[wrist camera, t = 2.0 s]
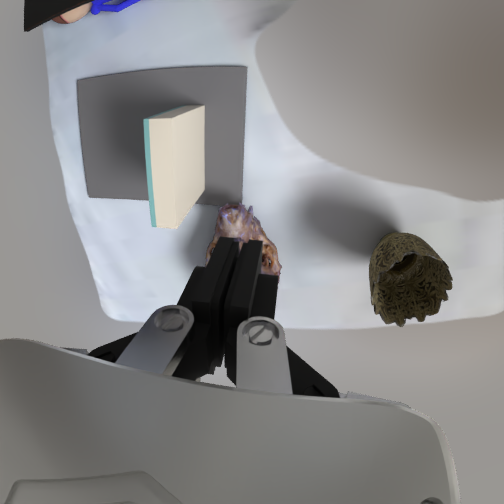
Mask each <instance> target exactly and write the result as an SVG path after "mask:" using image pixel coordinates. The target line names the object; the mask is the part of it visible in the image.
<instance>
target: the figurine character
mask: <svg viewBox="0 0 504 504" xmlns="http://www.w3.org/2000/svg"><path fill="white" fill-rule="evenodd" d="M109 1H112V0H25V6H24V31H27V32H28V31H30V30H32V29H34V28H36V27H38V26H39V25H41V24H43V23H45V22H47V21H49V20H51V19H52V20H53V21H55V22H57V23H61V24H68V23H72V22H75V21H77V20H79V19H81V18H82V17H84V16H85V15H86V14H87V13H88V12H89V10H90V9H91V13H92V14H94V15H96V14H98V13H99V12H100V11H112V12H119V11H121V10H123V9H125V8H126V7H128V6H130V5H132V4H134V3H136V2H138V1H140V0H126V1H124V2H122V3H120V4H118V5H106V4H103V3H106V2H109Z"/></svg>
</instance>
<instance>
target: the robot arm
mask: <svg viewBox="0 0 504 504" xmlns="http://www.w3.org/2000/svg"><path fill="white" fill-rule="evenodd" d="M262 251H263V241H261V240H251V239H249V241H248V243H244V242H243V244H242V247H241V251H240V254H239V242H235V239H234V238H231V237H221V236H220V237H219V239H218V242H217V244H216V246H215V248H214V251H213V253H212V255H211V257H210V259H209V262H208V264H207V266H206V267H199V266H196V267H195V269H194V270H193V272H192V274H191V276H190V279H189V281H188V283H187V285H186V287H185V289H184V291H183V293H182V295H181V297H180V299H179V301H178V303H177V305H168V306H164V307H161V308H159V309H157V310H156V311H155V312H154V313H153V314H152V315H151V316H150V318H149V319H148V320H147V321H146V323H145V324H144V325H143V327H142V328H141V329H140V330H139V332H137V333H134V334H132V335H129V336H126V337H124V338H121V339H119V340H116V341H114V342H111V343H108V344H106V345H103V346H101V347H98V348H96V349H94V350H92V351H91V352H90V353H88V351H87V349H74V348H61V347H57V346H53V345H49V344H46V343H43V342H39V341H34V340H29V339H19V338H12V339H2V340H0V504H461V500H460V499H461V498H460V490H459V484H458V478H457V473H456V468H455V464H454V460H453V456H452V452H451V449H450V446H449V443H448V440H447V438H446V436H445V434H444V432H443V430H442V429H441V427H440V426H439V425H438V423H437V422H435V421H434V420H433V419H432V418H430V417H428V416H427V415H425V414H423V413H421V412H419V411H416V410H413V409H411V408H410V407H409V406H408V405H406V404H403V403H401V402H396V401H391V400H386V399H381V398H376V397H371V396H367V395H362V394H357V393H353V392H347V394H343V393H339V392H338V390H337V389H336V388H335V387H334V386H333V385H332V384H331V383H330V382H328V381H327V380H326V379H325V378H324V377H323V376H321V375H320V374H319V373H318V372H317V371H315V370H314V369H313V368H312V367H311V366H309V365H308V364H307V363H306V362H305V361H304V360H302V359H301V358H300V357H299V356H298V355H297V354H295V353H294V352H293V351H292V350H291V349H290V348H288V347H287V346H286V340H285V333H284V330H283V327H282V326H281V325H280V324H279V323H278V322H277V321H275V320H274V316H275V306H276V297H277V288H278V278H279V275H269V274H261V265H262ZM224 354H225V355H224ZM224 356H225V368H227V377H228V378H229V379H230V380H231V381H232V382H233V383H234V384H235V385H236V388H235V387H228V386H222V385H215V384H209V383H204V382H200V377H202V376H204V375H205V374H214V371H215V367H216V366H217V367H221V364H222V360H223V357H224Z"/></svg>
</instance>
